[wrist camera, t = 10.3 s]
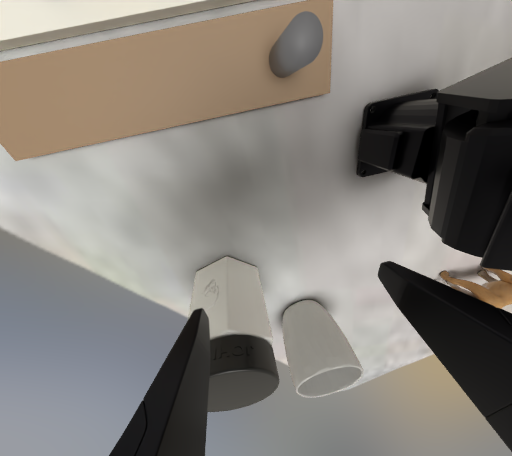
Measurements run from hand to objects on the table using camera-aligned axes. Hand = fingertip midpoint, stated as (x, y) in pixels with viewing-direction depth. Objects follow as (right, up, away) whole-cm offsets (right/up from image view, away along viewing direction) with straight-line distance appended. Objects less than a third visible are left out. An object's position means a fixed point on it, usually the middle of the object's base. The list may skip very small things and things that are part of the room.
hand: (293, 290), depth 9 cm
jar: (-6, -4, +16) cm, 17 cm away
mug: (+7, -12, +23) cm, 27 cm away
